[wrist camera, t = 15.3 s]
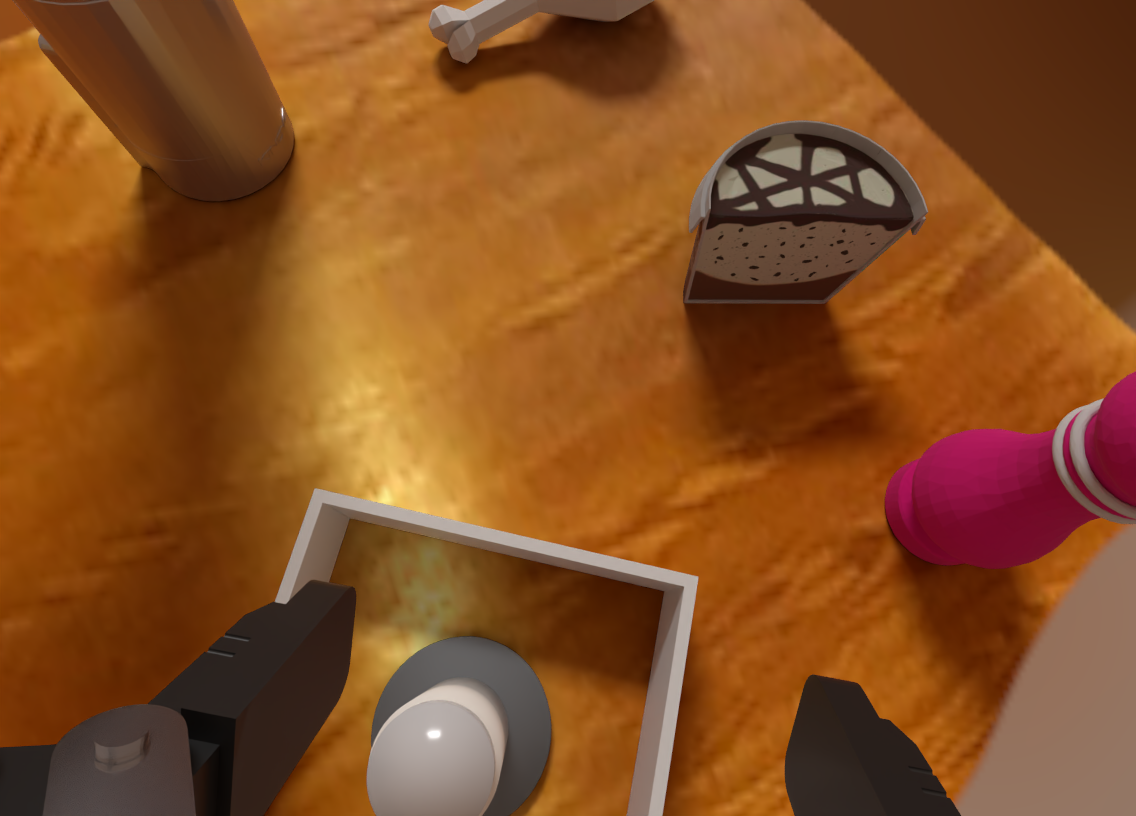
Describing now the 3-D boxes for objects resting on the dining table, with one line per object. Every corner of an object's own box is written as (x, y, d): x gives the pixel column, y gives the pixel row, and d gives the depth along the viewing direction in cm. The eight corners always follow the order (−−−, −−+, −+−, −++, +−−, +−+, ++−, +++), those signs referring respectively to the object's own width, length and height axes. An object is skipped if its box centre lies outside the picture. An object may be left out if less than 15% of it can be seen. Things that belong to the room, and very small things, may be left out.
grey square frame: (209, 903, 30) (149, 954, 26) (342, 505, 36) (315, 488, 32) (609, 1000, 30) (623, 1071, 25) (676, 582, 36) (698, 576, 31)
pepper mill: (995, 466, 39) (1428, 321, 20) (995, 586, 37) (1482, 549, 18) (878, 440, 39) (1199, 272, 21) (871, 559, 37) (1225, 493, 18)
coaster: (349, 806, 32) (346, 810, 31) (404, 619, 35) (402, 619, 34) (527, 849, 32) (527, 853, 31) (567, 657, 35) (568, 658, 34)
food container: (833, 222, 44) (915, 113, 35) (847, 303, 42) (938, 211, 33) (654, 220, 44) (688, 108, 34) (660, 303, 42) (698, 209, 32)
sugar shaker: (395, 773, 32) (342, 832, 23) (425, 666, 34) (385, 683, 25) (494, 797, 32) (479, 866, 23) (519, 689, 33) (514, 714, 24)
